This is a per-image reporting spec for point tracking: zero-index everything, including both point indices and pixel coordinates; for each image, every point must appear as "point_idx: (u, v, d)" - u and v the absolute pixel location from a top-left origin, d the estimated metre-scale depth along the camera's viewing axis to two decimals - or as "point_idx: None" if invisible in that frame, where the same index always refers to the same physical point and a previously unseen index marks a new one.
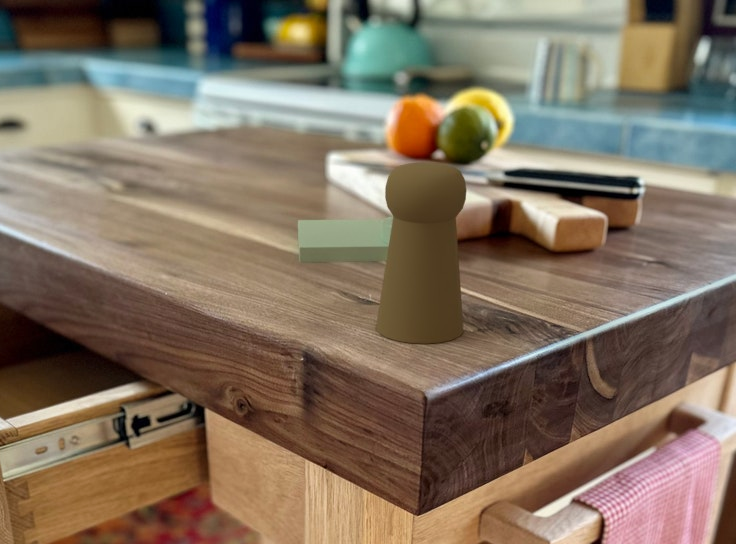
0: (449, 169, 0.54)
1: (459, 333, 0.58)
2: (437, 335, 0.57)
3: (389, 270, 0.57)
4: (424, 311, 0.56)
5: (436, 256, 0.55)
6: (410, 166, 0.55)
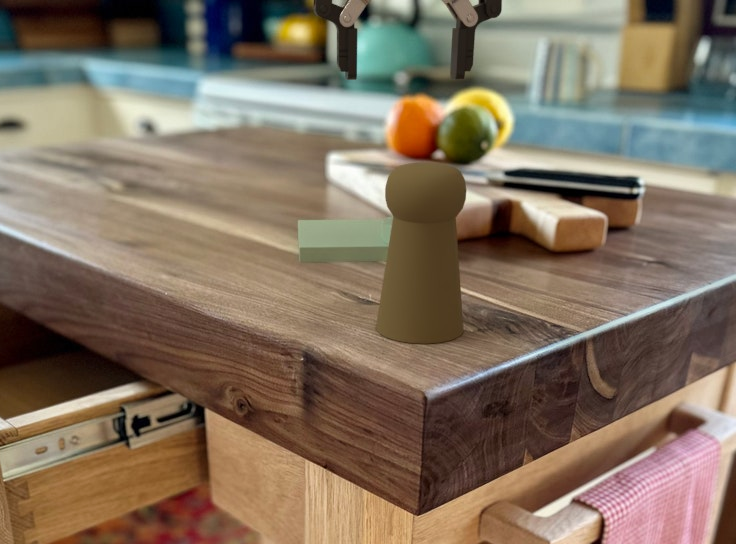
0: (449, 169, 0.54)
1: (459, 333, 0.58)
2: (437, 335, 0.57)
3: (389, 270, 0.57)
4: (424, 311, 0.56)
5: (436, 256, 0.55)
6: (410, 166, 0.55)
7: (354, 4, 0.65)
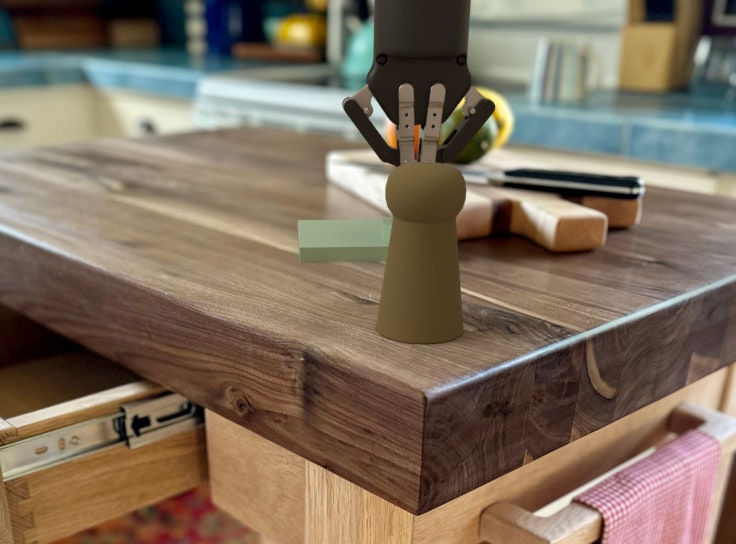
0: (449, 169, 0.54)
1: (459, 333, 0.58)
2: (437, 335, 0.57)
3: (389, 270, 0.57)
4: (424, 311, 0.56)
5: (436, 256, 0.55)
6: (410, 166, 0.55)
7: (405, 150, 0.72)
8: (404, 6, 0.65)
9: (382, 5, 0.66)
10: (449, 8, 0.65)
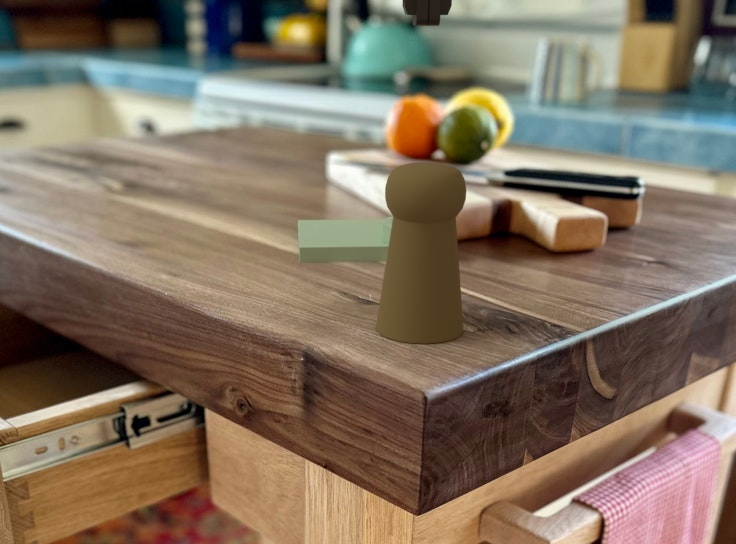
0: (449, 169, 0.54)
1: (459, 333, 0.58)
2: (437, 335, 0.57)
3: (389, 270, 0.57)
4: (424, 311, 0.56)
5: (436, 256, 0.55)
6: (410, 166, 0.55)
7: None
8: None
9: None
10: None
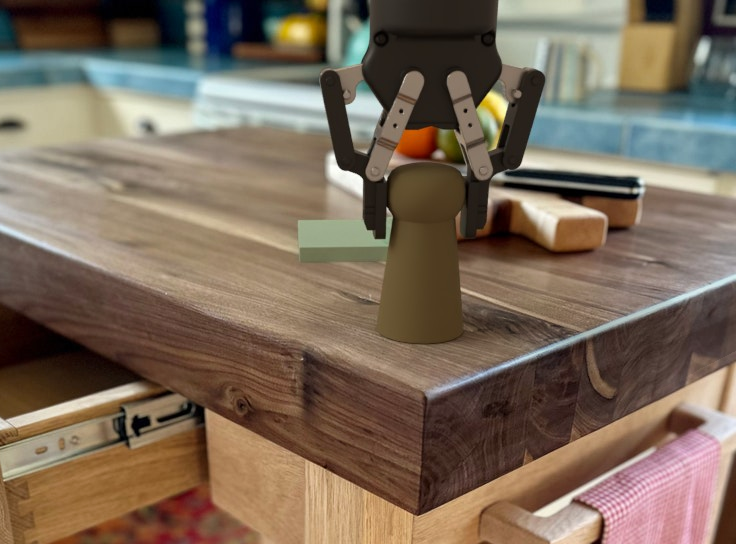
0: (448, 169, 0.54)
1: (459, 333, 0.58)
2: (437, 335, 0.57)
3: (389, 270, 0.57)
4: (424, 311, 0.56)
5: (436, 256, 0.55)
6: (409, 166, 0.55)
7: (379, 154, 0.54)
8: None
9: None
10: None
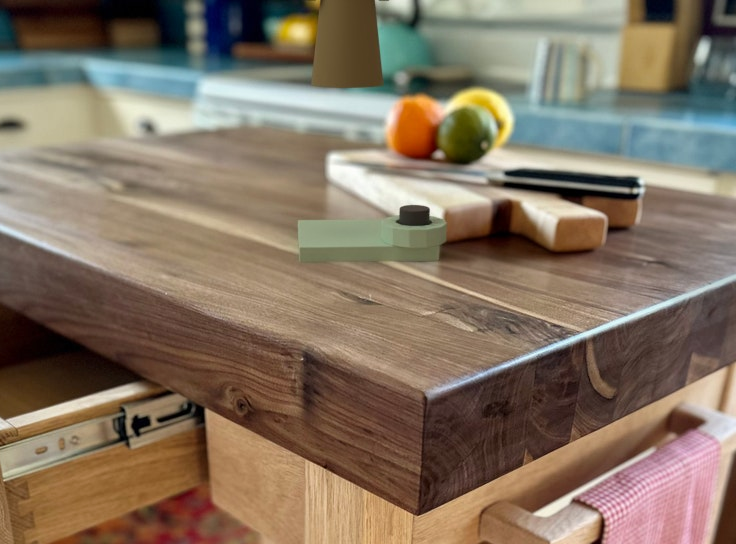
0: None
1: (378, 84, 0.71)
2: (359, 80, 0.70)
3: (320, 28, 0.70)
4: (348, 59, 0.69)
5: (356, 10, 0.68)
6: None
7: None
8: None
9: None
10: None
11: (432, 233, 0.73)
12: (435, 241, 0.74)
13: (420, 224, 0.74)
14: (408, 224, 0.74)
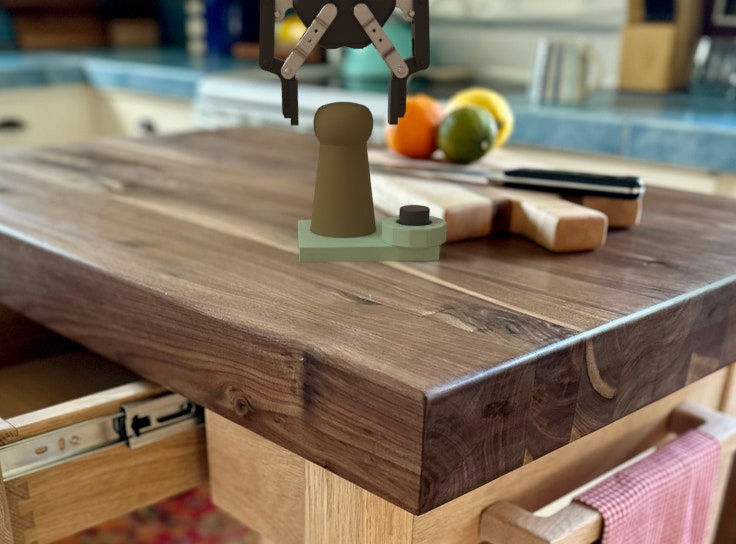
0: (359, 106, 0.74)
1: (371, 231, 0.78)
2: (353, 231, 0.77)
3: (318, 183, 0.77)
4: (343, 212, 0.76)
5: (351, 170, 0.75)
6: (331, 104, 0.74)
7: (293, 59, 0.72)
8: None
9: None
10: None
11: (432, 233, 0.73)
12: (435, 241, 0.74)
13: (420, 224, 0.74)
14: (408, 224, 0.74)
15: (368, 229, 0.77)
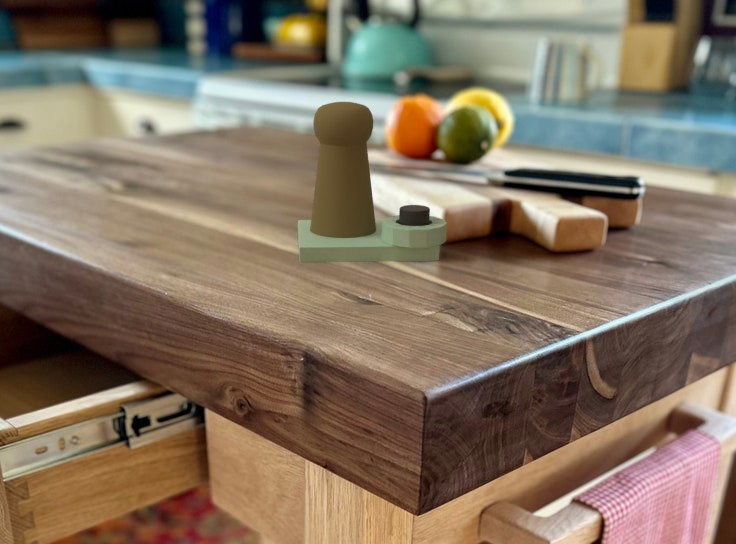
0: (359, 106, 0.74)
1: (371, 231, 0.78)
2: (353, 231, 0.77)
3: (318, 183, 0.77)
4: (343, 212, 0.76)
5: (351, 170, 0.75)
6: (331, 104, 0.74)
7: None
8: None
9: None
10: None
11: (432, 233, 0.73)
12: (435, 241, 0.74)
13: (420, 224, 0.74)
14: (408, 224, 0.74)
15: (368, 229, 0.77)
